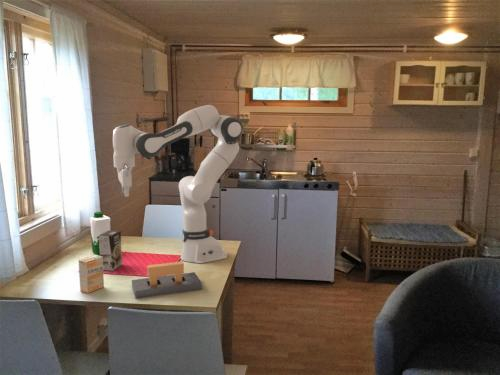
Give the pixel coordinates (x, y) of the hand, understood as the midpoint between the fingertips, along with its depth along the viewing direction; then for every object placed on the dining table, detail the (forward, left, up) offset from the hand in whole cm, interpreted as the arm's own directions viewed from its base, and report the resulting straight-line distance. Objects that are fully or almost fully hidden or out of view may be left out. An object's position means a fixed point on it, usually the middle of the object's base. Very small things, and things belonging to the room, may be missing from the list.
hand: (125, 194), depth 201 cm
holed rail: (-12, +28, -34) cm, 46 cm away
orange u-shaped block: (-12, +28, -34) cm, 45 cm away
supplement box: (+16, +19, -34) cm, 42 cm away
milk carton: (+10, -28, -34) cm, 46 cm away
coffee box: (+7, -5, -34) cm, 35 cm away
